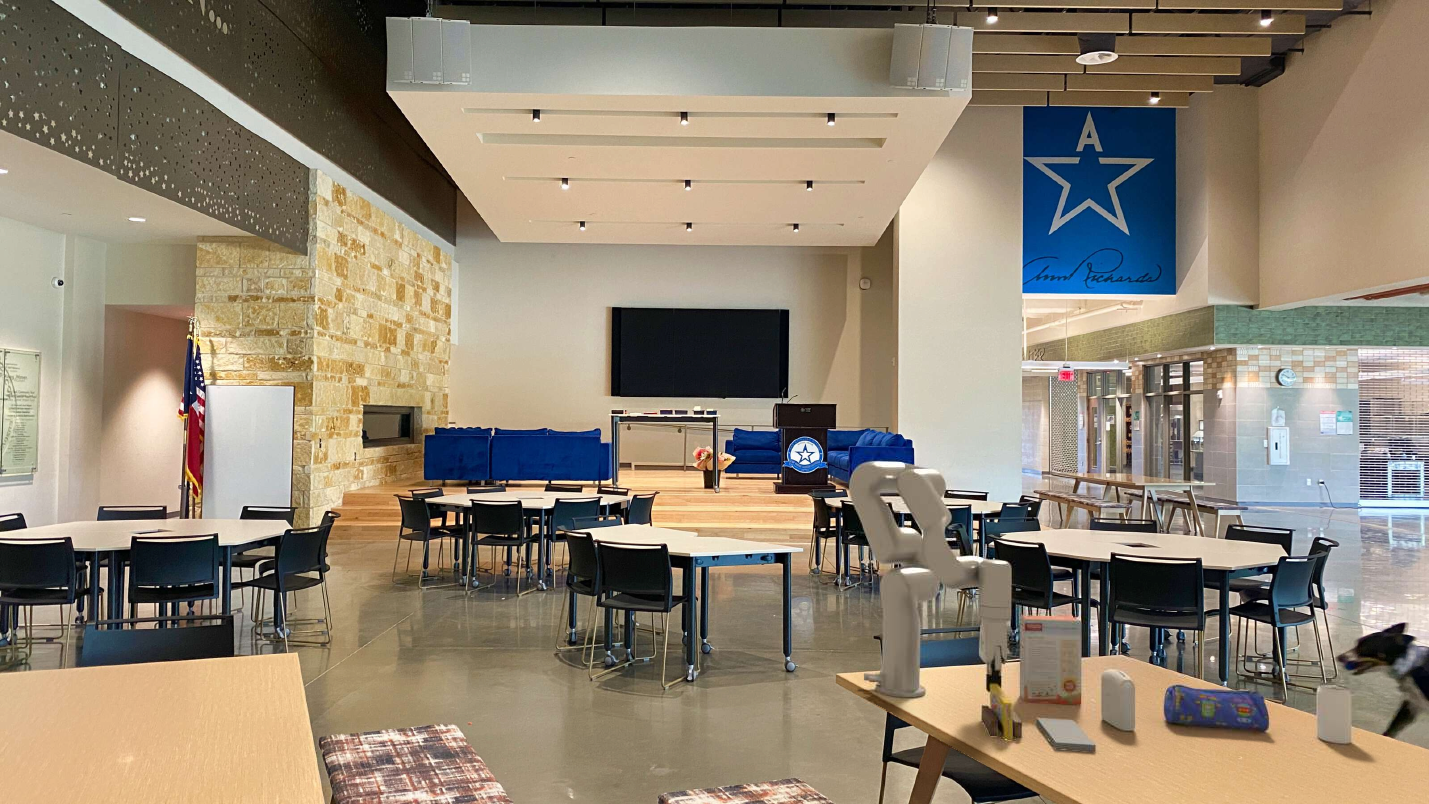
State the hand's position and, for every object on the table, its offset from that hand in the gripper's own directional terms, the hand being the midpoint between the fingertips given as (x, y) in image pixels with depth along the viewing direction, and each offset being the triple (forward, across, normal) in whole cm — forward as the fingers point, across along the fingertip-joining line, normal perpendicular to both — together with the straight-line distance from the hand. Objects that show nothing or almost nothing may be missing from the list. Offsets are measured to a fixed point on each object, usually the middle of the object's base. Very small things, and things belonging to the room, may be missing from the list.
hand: (993, 691), depth 217 cm
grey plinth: (+6, +14, +13) cm, 20 cm away
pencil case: (+6, -3, +51) cm, 51 cm away
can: (+6, +2, +74) cm, 74 cm away
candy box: (+6, +10, 0) cm, 12 cm away
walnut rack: (+6, +10, 0) cm, 12 cm away
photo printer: (+6, +1, +28) cm, 28 cm away
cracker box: (+6, -17, +17) cm, 25 cm away
